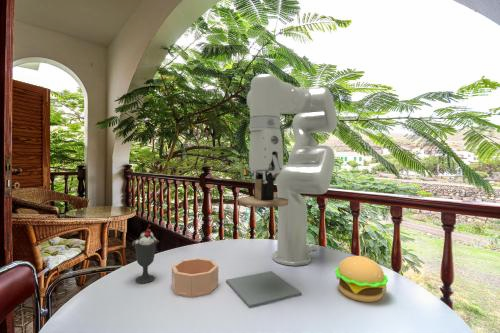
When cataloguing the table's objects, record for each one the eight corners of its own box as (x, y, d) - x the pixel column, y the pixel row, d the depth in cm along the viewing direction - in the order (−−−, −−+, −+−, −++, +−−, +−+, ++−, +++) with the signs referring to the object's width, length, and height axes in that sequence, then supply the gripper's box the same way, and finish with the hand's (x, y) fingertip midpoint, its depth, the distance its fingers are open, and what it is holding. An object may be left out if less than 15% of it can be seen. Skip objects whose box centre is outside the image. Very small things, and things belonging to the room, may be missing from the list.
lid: (271, 199, 74) (272, 178, 74) (298, 205, 63) (298, 180, 63) (231, 201, 68) (231, 178, 68) (252, 208, 57) (253, 180, 57)
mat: (271, 273, 75) (271, 271, 75) (301, 295, 62) (301, 292, 62) (225, 281, 69) (225, 279, 69) (249, 308, 56) (249, 305, 56)
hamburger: (352, 308, 57) (353, 268, 57) (325, 283, 69) (326, 251, 69) (399, 303, 59) (400, 265, 59) (366, 280, 71) (367, 249, 71)
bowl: (209, 274, 73) (209, 256, 73) (222, 291, 64) (223, 270, 64) (168, 281, 69) (169, 262, 69) (176, 300, 59) (177, 278, 59)
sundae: (149, 286, 65) (150, 226, 65) (125, 283, 67) (126, 225, 67) (163, 275, 72) (164, 221, 72) (141, 273, 73) (142, 219, 73)
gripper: (296, 122, 60) (295, 202, 60) (262, 131, 75) (260, 195, 75) (268, 119, 56) (267, 204, 56) (238, 128, 71) (236, 196, 71)
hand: (263, 198), depth 66 cm, fingers closed on lid, 3 cm apart
